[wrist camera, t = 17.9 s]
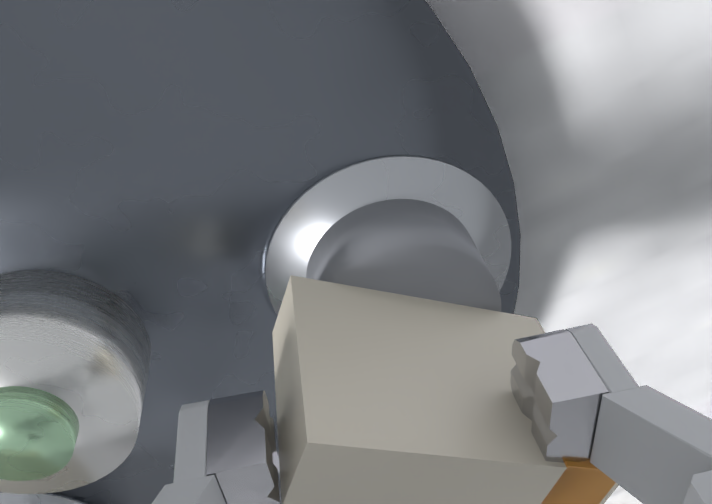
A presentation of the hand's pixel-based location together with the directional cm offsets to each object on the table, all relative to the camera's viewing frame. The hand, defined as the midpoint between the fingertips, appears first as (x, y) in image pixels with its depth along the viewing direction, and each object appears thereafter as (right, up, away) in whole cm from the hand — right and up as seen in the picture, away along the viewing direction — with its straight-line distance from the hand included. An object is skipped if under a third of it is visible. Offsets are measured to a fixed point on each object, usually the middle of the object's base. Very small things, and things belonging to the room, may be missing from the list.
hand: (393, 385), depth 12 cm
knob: (0, +2, +4) cm, 5 cm away
